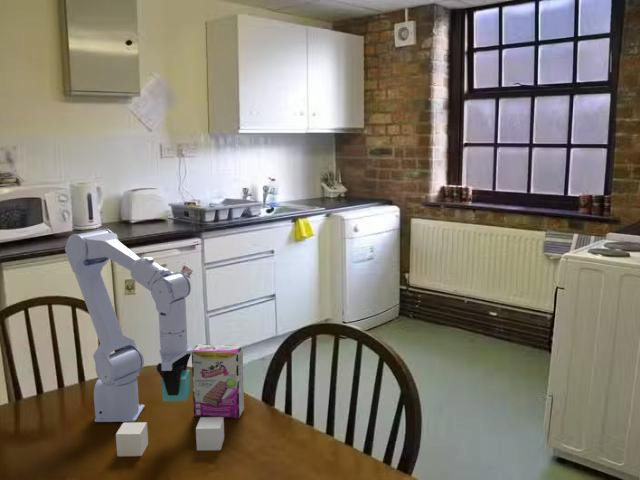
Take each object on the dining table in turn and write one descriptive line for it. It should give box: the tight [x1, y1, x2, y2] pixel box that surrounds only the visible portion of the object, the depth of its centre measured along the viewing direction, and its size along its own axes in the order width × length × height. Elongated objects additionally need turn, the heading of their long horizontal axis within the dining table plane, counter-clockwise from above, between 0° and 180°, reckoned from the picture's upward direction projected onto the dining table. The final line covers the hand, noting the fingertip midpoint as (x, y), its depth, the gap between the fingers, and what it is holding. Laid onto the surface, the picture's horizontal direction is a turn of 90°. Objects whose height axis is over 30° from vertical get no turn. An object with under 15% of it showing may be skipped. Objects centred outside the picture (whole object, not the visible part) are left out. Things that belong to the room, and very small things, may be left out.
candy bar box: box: [191, 343, 245, 419], centre depth 141 cm, size 11×5×16 cm, turn 84°
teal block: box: [161, 369, 192, 402], centre depth 131 cm, size 5×5×5 cm
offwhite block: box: [115, 421, 149, 457], centre depth 126 cm, size 5×5×5 cm
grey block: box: [195, 417, 225, 451], centre depth 128 cm, size 5×5×5 cm
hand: (176, 389), depth 131 cm, fingers closed on teal block, 5 cm apart
